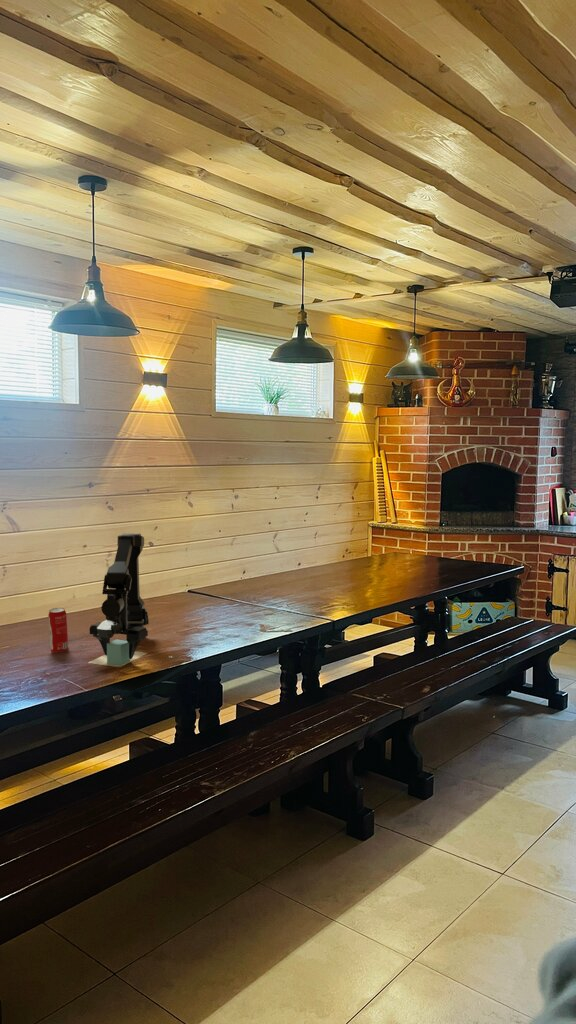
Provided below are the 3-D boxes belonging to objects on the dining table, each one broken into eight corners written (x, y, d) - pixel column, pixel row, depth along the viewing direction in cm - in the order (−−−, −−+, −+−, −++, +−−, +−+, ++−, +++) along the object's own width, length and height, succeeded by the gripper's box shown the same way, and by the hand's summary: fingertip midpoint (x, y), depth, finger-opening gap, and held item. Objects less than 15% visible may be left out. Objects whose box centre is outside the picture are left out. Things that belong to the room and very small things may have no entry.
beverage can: (70, 649, 246) (69, 606, 245) (65, 655, 240) (64, 611, 238) (53, 649, 246) (51, 606, 244) (47, 655, 239) (46, 611, 238)
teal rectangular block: (116, 659, 232) (116, 639, 232) (130, 661, 231) (129, 641, 230) (107, 663, 228) (106, 643, 227) (120, 665, 226) (120, 645, 225)
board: (117, 651, 244) (117, 649, 243) (147, 656, 239) (147, 653, 239) (87, 665, 229) (87, 662, 229) (119, 670, 224) (119, 667, 224)
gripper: (77, 612, 223) (78, 660, 225) (128, 618, 216) (129, 668, 218) (99, 604, 234) (100, 650, 235) (148, 610, 227) (148, 657, 228)
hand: (118, 656), depth 229 cm, fingers open, 9 cm apart
